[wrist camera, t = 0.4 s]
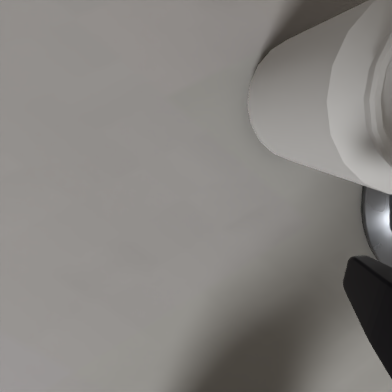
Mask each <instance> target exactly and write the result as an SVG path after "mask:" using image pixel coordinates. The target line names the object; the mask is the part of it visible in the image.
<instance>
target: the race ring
mask: <svg viewBox="0 0 392 392" xmlns="http://www.w3.org/2000/svg"><path fill="white" fill-rule="evenodd" d="M361 212H362V223H363V227H364V232H365V236H366V238H367V241H368V243H369V246H370V248H371V250H372V252H373V253H374V255H375V257H376V258H377V260H378V261H379V262H381V263H383V264H386V265H388V266H390V267H392V194H387V193H384V192H381V191H378V190H375V189H372V188H369V187H366V186H363V190H362V203H361Z"/></svg>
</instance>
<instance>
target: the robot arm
mask: <svg viewBox="0 0 392 392" xmlns="http://www.w3.org/2000/svg"><path fill="white" fill-rule="evenodd" d="M343 286H344V290H345V292H346V294H347V296H348V298H349V300H350V302H351V305H352V307H353V309H354V311H355V313H356V315H357V317H358V319H359V321H360V324H361V326H362V328H363V330H364V332H365V334H366V336H367V338H368V340H369V342H370V343H371V345H372V347H373V349H374V350H375V352H376V354H377V355H378V357H379V359H380V360H381V362H382V364H383V365H384V367H385V369H386V370H387V372H388V374H389V375H390V377H391V379H392V267H390V266H388V265H386V264H383V263H381V262H379V261H377V260H375V259H373V258H370V257H368V256H353V257H351V258H350V259H349V260H348V264H347V268H346V272H345V276H344V280H343Z"/></svg>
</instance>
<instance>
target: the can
mask: <svg viewBox="0 0 392 392" xmlns="http://www.w3.org/2000/svg"><path fill="white" fill-rule="evenodd" d="M247 106H248V112H249V117H250V123H251V126H252V128H253V130H254V131H255V133H256V135H257V137H258V139H259V141H260V142H261V143H262V144H263V145H264V146H266V147H267V148H268V149H269V150H270V151H271V152H272V153H273V154H276V155H278V156H280V157H283V158H285V159H287V160H290V161H293V162H296V163H299V164H302V165H305V166H307V167H310V168H313V169H316V170H319V171H322V172H325V173H328V174H331V175H334V176H337V177H340V178H343V179H346V180H349V181H352V182H355V183H357V184H360V185H363V186H366V187H369V188H372V189H375V190H378V191H381V192H384V193H387V194H392V0H368V1H366V2H364V3H362V4H360V5H358V6H356V7H354V8H352V9H349V10H347V11H345V12H343V13H341V14H339V15H337V16H335V17H333V18H331V19H329V20H327V21H325V22H323V23H320V24H318V25H316V26H314V27H312V28H310V29H308V30H306V31H304V32H302V33H300V34H298V35H296V36H294V37H291V38H289V39H287V40H286V41H284V42H283V43H281V44H280V45H278V46H276V47H275V48H273V49H272V50H270V52H269V53H268V54H267V55H266V56H265V58H264V59H263V60H262V61H261V62H260V64H259V65H258V66H257V69H256V71H255V73H254V76H253V78H252V80H251V83H250V85H249V94H248V103H247Z"/></svg>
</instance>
